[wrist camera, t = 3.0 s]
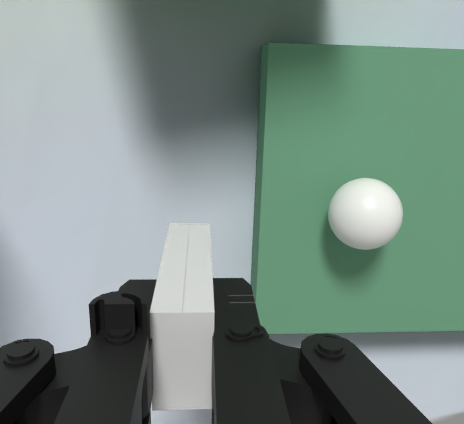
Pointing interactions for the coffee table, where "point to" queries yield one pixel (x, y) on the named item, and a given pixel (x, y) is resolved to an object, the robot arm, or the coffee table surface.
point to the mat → (354, 167)
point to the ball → (365, 213)
